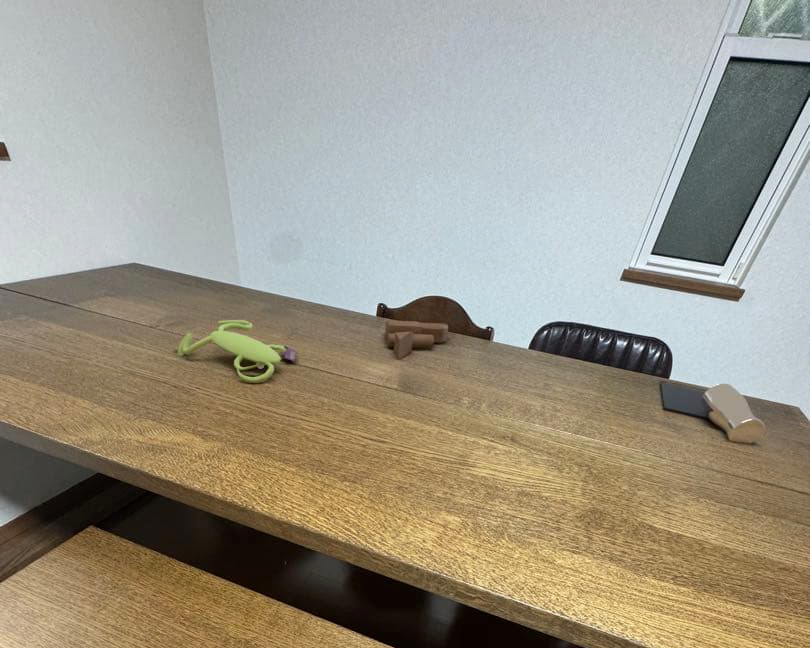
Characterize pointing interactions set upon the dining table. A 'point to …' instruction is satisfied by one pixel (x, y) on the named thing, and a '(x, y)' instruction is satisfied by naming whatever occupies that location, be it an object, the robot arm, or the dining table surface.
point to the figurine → (241, 348)
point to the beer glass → (731, 414)
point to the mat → (682, 401)
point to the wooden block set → (413, 335)
